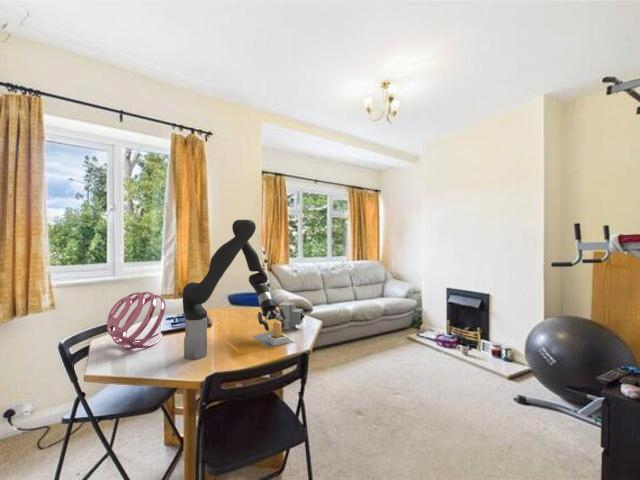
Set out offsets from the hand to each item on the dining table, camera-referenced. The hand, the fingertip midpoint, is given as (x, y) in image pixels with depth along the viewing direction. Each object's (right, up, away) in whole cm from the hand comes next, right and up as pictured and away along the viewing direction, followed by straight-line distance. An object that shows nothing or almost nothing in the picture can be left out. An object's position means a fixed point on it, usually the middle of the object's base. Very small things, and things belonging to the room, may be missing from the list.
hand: (275, 328), depth 157 cm
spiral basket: (-69, -8, -4) cm, 70 cm away
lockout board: (-2, -7, +3) cm, 8 cm away
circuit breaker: (+6, -7, +24) cm, 26 cm away
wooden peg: (+1, -6, -2) cm, 7 cm away
